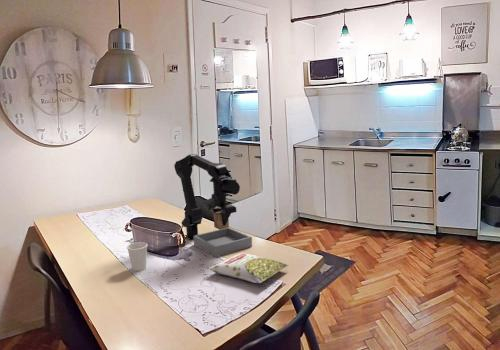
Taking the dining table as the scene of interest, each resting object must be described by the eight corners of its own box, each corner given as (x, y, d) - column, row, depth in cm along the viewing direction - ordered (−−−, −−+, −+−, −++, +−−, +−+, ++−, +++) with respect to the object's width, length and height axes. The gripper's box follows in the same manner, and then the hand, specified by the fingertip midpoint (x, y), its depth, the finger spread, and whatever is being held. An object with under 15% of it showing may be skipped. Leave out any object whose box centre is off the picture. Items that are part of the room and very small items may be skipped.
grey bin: (193, 244, 200) (193, 235, 199) (229, 235, 212) (228, 227, 211) (215, 256, 184) (214, 247, 183) (252, 246, 195) (251, 237, 195)
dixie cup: (138, 273, 169) (136, 250, 167) (124, 269, 173) (122, 247, 172) (153, 266, 176) (151, 243, 174) (139, 262, 180) (137, 240, 179)
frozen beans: (260, 275, 149) (206, 261, 163) (260, 290, 150) (207, 276, 164) (288, 258, 166) (238, 247, 180) (288, 271, 167) (238, 260, 181)
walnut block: (214, 227, 197) (213, 212, 196) (223, 225, 200) (222, 210, 198) (219, 229, 193) (219, 215, 192) (228, 227, 196) (228, 213, 194)
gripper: (194, 191, 196) (196, 223, 199) (215, 198, 181) (216, 232, 184) (215, 187, 202) (216, 218, 205) (236, 194, 187) (237, 227, 190)
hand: (221, 224), depth 196 cm, fingers closed on walnut block, 5 cm apart
